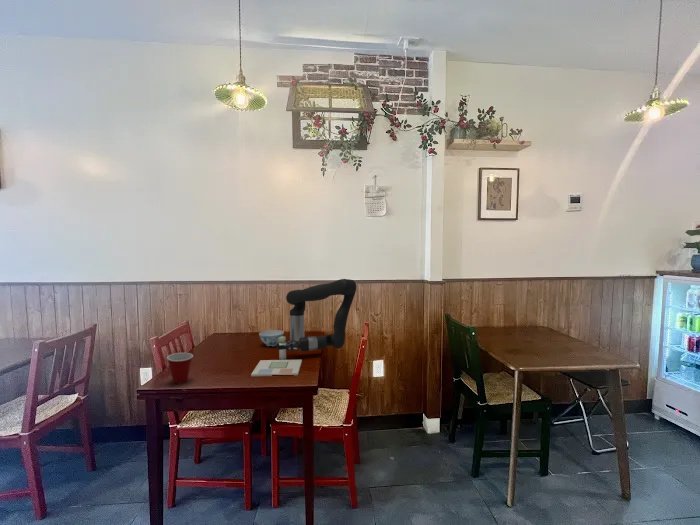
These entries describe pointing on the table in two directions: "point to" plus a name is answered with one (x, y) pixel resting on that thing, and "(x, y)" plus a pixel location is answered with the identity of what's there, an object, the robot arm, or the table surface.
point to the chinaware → (271, 337)
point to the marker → (282, 352)
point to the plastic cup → (179, 366)
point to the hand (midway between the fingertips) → (277, 346)
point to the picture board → (277, 367)
